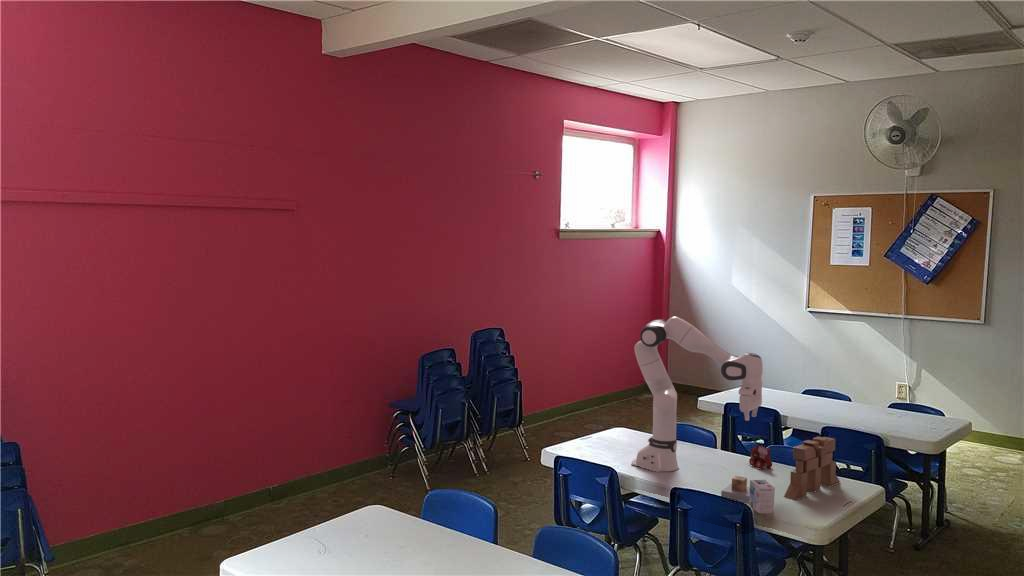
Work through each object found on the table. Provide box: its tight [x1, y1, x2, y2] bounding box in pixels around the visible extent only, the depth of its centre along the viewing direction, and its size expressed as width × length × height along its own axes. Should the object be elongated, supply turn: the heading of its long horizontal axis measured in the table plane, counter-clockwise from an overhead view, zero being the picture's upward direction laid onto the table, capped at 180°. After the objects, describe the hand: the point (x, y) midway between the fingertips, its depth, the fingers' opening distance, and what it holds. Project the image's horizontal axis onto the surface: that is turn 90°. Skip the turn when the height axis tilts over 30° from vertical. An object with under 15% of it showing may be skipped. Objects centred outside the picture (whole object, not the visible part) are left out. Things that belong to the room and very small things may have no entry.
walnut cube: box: [731, 475, 748, 492], centre depth 341 cm, size 5×5×5 cm
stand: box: [720, 483, 750, 503], centre depth 341 cm, size 12×12×2 cm
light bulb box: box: [748, 479, 776, 514], centre depth 324 cm, size 11×7×11 cm, turn 5°
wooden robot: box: [783, 435, 841, 501], centre depth 350 cm, size 40×9×23 cm, turn 132°
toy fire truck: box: [748, 444, 773, 470], centre depth 385 cm, size 7×12×10 cm, turn 22°
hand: (750, 418), depth 360 cm, fingers open, 8 cm apart
